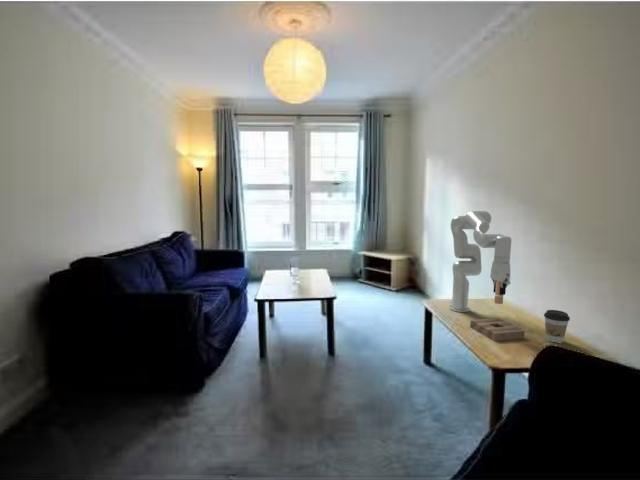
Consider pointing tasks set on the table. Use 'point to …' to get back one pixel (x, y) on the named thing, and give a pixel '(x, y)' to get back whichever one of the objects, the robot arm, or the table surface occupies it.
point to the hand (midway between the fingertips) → (499, 293)
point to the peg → (497, 296)
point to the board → (497, 329)
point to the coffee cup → (556, 325)
